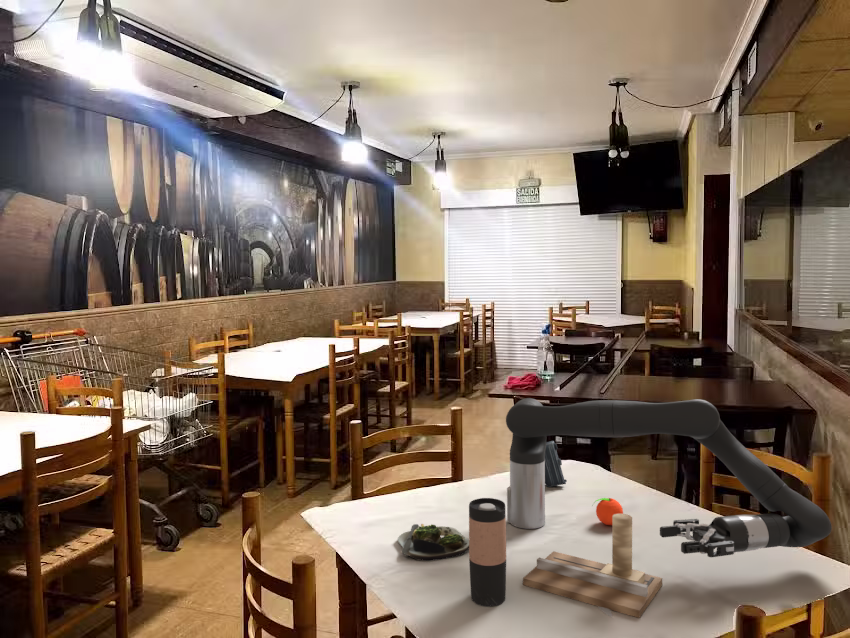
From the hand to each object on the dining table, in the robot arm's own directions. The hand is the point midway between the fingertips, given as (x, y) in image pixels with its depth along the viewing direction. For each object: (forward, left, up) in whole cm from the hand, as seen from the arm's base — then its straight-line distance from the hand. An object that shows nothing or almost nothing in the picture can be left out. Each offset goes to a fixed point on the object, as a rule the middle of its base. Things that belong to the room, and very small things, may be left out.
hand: (670, 539), depth 141 cm
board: (-14, -10, -10) cm, 19 cm away
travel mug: (-30, -27, -10) cm, 41 cm away
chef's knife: (-11, -14, -10) cm, 20 cm away
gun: (-51, +44, -10) cm, 68 cm away
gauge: (-8, -8, -8) cm, 14 cm away
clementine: (-23, +25, -10) cm, 35 cm away
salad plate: (-54, -12, -10) cm, 56 cm away
